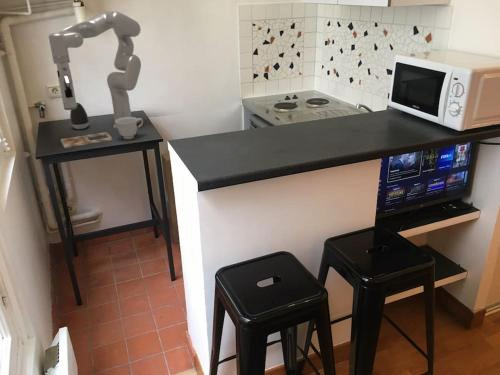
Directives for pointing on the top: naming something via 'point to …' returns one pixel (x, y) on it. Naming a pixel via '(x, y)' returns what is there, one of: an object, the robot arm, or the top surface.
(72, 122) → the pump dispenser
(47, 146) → the top surface
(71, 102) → the travel mug
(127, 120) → the teacup
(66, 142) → the beige flat rectangular frame
